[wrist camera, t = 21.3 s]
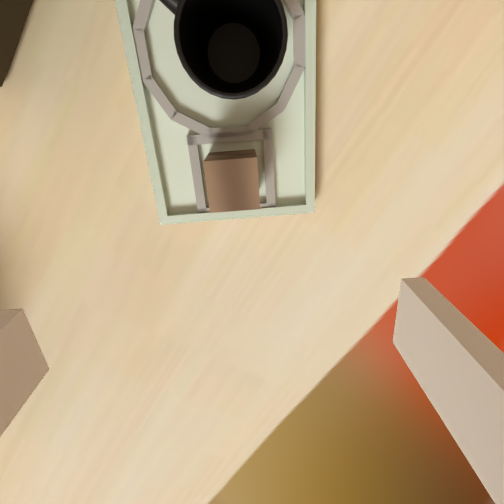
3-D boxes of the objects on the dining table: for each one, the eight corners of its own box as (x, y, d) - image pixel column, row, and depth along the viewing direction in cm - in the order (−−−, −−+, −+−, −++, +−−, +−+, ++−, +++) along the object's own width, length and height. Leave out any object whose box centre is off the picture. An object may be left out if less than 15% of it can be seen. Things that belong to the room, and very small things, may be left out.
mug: (187, -53, 28) (163, -122, 20) (292, 44, 32) (312, 22, 23) (141, 36, 31) (102, 10, 22) (243, 117, 34) (243, 122, 26)
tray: (164, 218, 40) (160, 225, 38) (110, -58, 29) (100, -70, 27) (311, 207, 40) (314, 212, 38) (311, -75, 29) (316, -88, 27)
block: (214, 197, 38) (209, 213, 32) (209, 152, 36) (203, 161, 30) (257, 193, 38) (260, 209, 32) (254, 149, 36) (256, 157, 30)
